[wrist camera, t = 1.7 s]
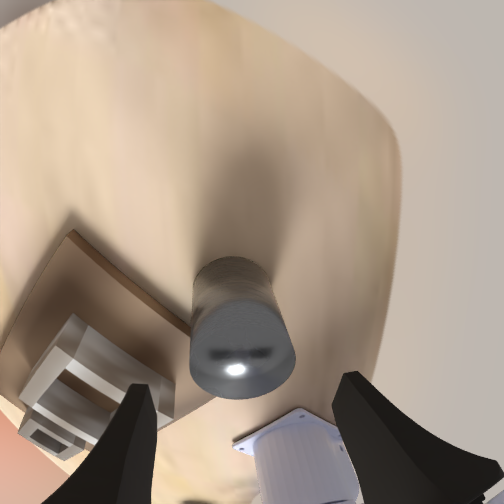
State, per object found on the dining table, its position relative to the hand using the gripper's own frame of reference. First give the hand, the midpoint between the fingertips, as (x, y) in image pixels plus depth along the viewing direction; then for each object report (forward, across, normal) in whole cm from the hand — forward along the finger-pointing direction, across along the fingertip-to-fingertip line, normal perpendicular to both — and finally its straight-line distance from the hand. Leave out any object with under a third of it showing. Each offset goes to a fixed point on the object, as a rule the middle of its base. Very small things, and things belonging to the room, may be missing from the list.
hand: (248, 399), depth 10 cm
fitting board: (+8, +11, +8) cm, 16 cm away
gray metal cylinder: (+8, 0, 0) cm, 8 cm away
